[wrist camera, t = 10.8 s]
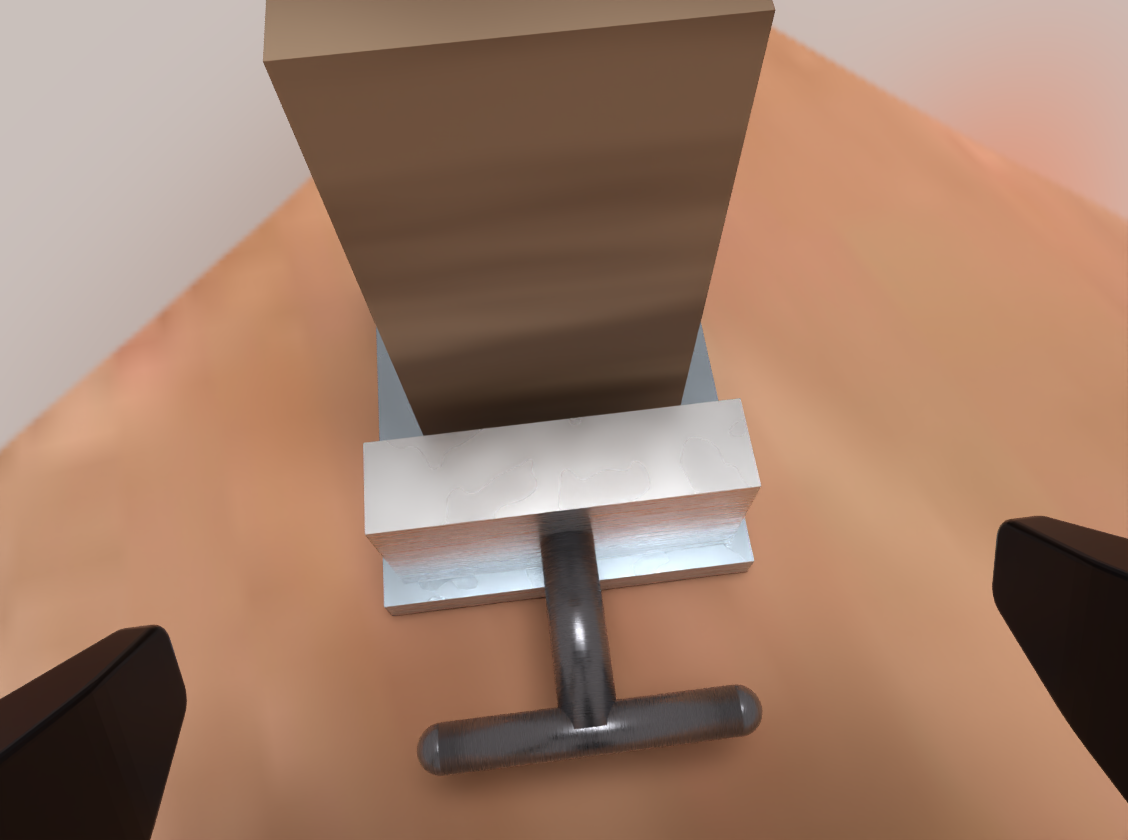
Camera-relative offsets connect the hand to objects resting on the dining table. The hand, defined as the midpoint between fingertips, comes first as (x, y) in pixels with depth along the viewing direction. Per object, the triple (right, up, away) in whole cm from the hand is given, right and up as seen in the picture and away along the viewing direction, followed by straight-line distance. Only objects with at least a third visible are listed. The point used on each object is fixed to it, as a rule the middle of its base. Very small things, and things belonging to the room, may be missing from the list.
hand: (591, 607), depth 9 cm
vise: (-1, 0, +13) cm, 13 cm away
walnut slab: (-1, +3, +13) cm, 13 cm away
